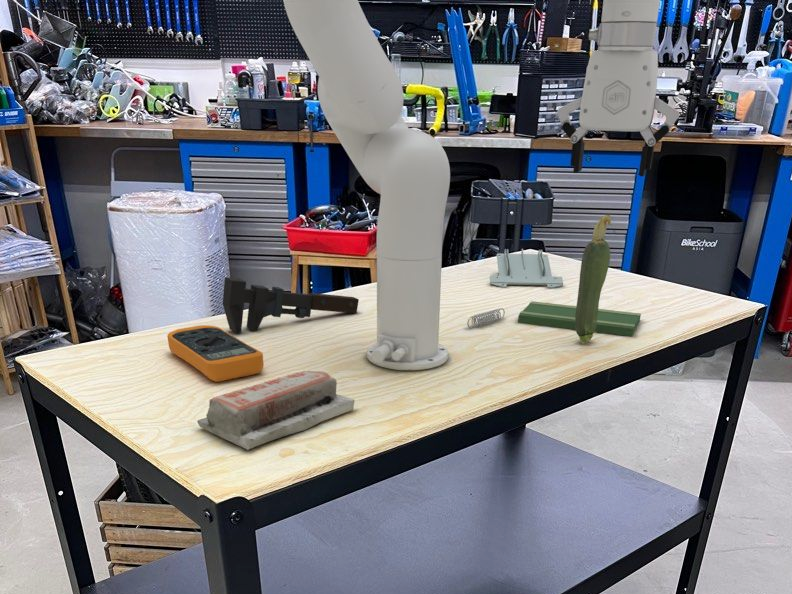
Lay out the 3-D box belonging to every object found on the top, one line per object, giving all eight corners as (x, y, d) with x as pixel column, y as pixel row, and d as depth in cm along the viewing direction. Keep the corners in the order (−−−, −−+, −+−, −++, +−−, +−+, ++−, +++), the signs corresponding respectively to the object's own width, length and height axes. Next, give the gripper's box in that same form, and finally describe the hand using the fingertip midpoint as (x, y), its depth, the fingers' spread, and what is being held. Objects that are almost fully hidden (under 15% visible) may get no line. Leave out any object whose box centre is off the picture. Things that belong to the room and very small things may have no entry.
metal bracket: (487, 243, 171) (557, 244, 170) (485, 268, 175) (553, 269, 175) (491, 278, 161) (565, 279, 161) (489, 303, 165) (560, 305, 165)
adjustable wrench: (353, 339, 146) (226, 332, 131) (345, 335, 148) (220, 328, 133) (361, 293, 143) (231, 280, 128) (353, 289, 144) (225, 277, 130)
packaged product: (244, 414, 91) (192, 392, 96) (248, 453, 93) (197, 429, 99) (355, 375, 102) (303, 358, 108) (356, 410, 105) (305, 392, 110)
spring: (471, 330, 137) (472, 318, 136) (462, 327, 138) (463, 316, 137) (508, 319, 142) (509, 308, 141) (499, 317, 144) (500, 306, 143)
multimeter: (215, 342, 129) (213, 321, 127) (267, 374, 116) (265, 351, 114) (165, 351, 124) (161, 330, 122) (212, 385, 112) (210, 362, 110)
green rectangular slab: (632, 336, 135) (633, 327, 134) (517, 322, 141) (518, 314, 140) (639, 321, 143) (641, 312, 142) (531, 308, 149) (531, 300, 148)
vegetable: (566, 339, 133) (581, 211, 123) (587, 336, 135) (604, 210, 124) (581, 346, 130) (599, 216, 119) (603, 343, 131) (622, 215, 121)
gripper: (559, 38, 110) (547, 173, 119) (689, 38, 104) (666, 180, 113) (570, 39, 116) (557, 167, 125) (693, 39, 110) (671, 173, 119)
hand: (609, 173), depth 119 cm, fingers open, 9 cm apart
